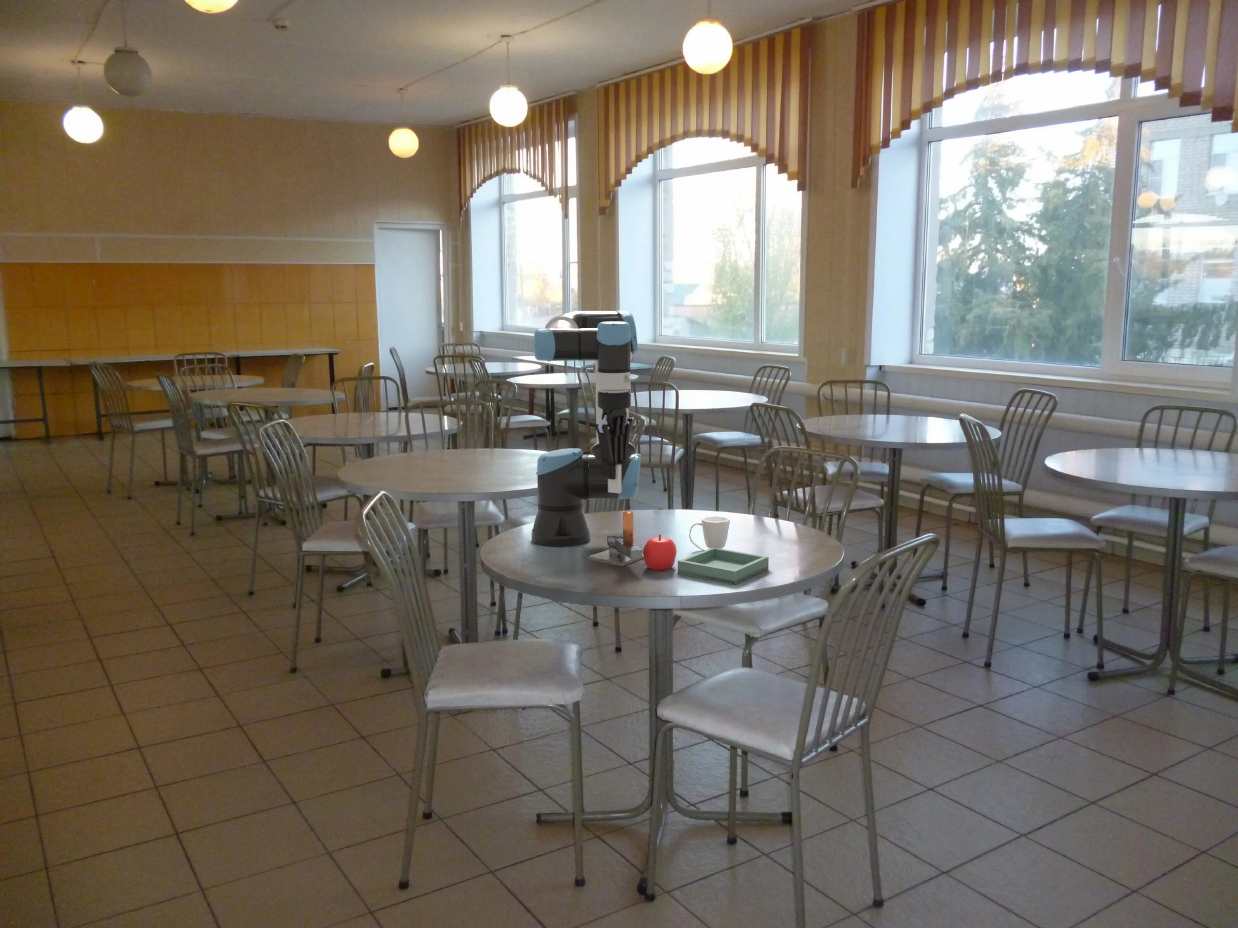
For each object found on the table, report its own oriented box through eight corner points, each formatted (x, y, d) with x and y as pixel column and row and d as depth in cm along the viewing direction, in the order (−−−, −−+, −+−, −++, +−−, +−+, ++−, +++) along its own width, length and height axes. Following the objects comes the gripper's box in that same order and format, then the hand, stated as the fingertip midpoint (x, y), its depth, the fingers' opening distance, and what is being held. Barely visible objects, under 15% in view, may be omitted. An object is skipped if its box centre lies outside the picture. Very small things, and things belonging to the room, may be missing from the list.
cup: (729, 554, 244) (730, 522, 242) (688, 554, 244) (688, 521, 243) (729, 547, 250) (729, 516, 249) (689, 546, 251) (689, 515, 250)
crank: (604, 542, 242) (604, 504, 240) (624, 540, 243) (624, 502, 242) (626, 559, 226) (626, 518, 225) (647, 557, 228) (647, 516, 226)
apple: (654, 561, 238) (654, 528, 236) (683, 566, 233) (683, 533, 232) (635, 569, 231) (635, 535, 230) (665, 574, 227) (665, 540, 226)
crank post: (588, 559, 240) (588, 546, 239) (613, 550, 248) (613, 538, 247) (621, 566, 234) (621, 552, 233) (646, 557, 242) (646, 544, 241)
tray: (677, 573, 228) (677, 560, 227) (712, 559, 239) (712, 547, 239) (734, 584, 219) (735, 571, 218) (768, 569, 230) (768, 556, 230)
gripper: (613, 394, 220) (614, 499, 224) (642, 388, 231) (642, 488, 235) (584, 392, 223) (585, 495, 228) (614, 386, 234) (615, 485, 239)
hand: (614, 492), depth 232 cm, fingers closed
